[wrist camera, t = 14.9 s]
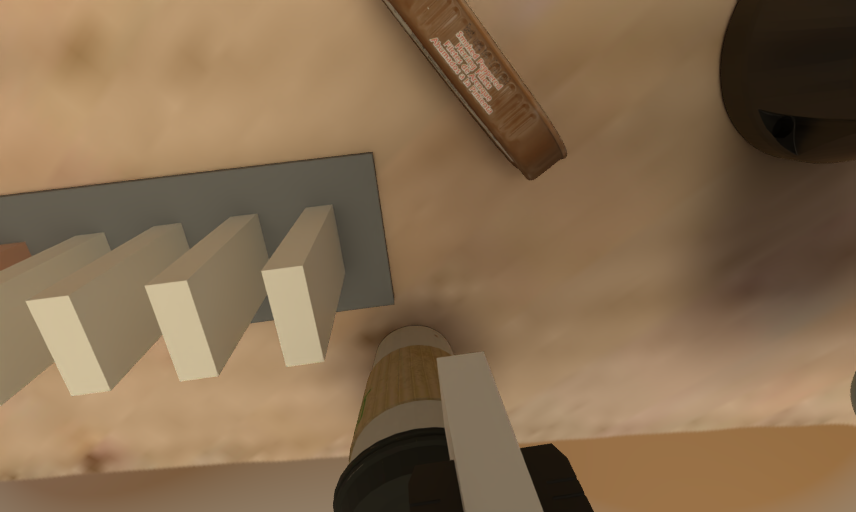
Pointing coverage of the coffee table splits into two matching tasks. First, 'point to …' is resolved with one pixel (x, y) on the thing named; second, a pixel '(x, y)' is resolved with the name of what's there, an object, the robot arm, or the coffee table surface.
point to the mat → (223, 214)
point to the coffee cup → (396, 423)
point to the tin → (482, 81)
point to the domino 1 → (13, 254)
